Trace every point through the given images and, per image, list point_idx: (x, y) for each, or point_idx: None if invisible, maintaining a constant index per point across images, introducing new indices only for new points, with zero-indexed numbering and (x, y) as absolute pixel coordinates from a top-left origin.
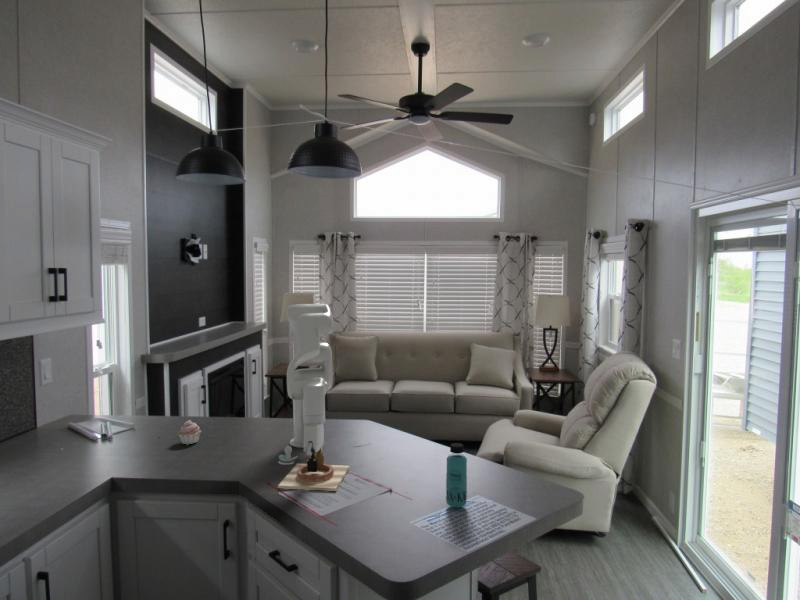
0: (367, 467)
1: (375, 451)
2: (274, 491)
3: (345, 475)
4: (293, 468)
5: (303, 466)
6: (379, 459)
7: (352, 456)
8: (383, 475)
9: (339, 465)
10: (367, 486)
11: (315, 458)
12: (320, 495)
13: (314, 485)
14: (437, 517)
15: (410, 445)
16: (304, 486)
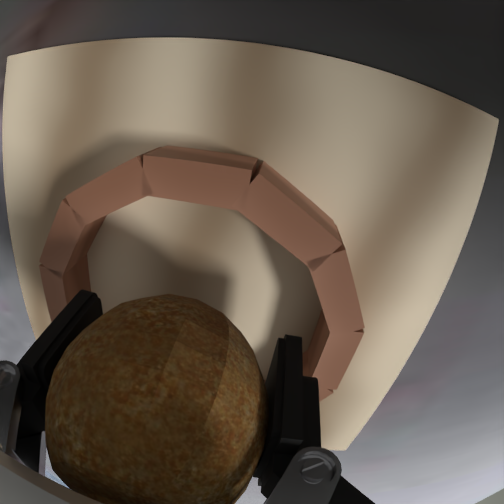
0: (342, 473)
1: (487, 457)
2: (2, 51)
3: None
4: (386, 78)
5: (278, 214)
6: (409, 482)
7: (492, 416)
8: (248, 494)
9: (366, 419)
10: None
11: (35, 438)
12: (12, 313)
13: (39, 300)
14: (50, 476)
15: (469, 496)
16: (14, 243)
